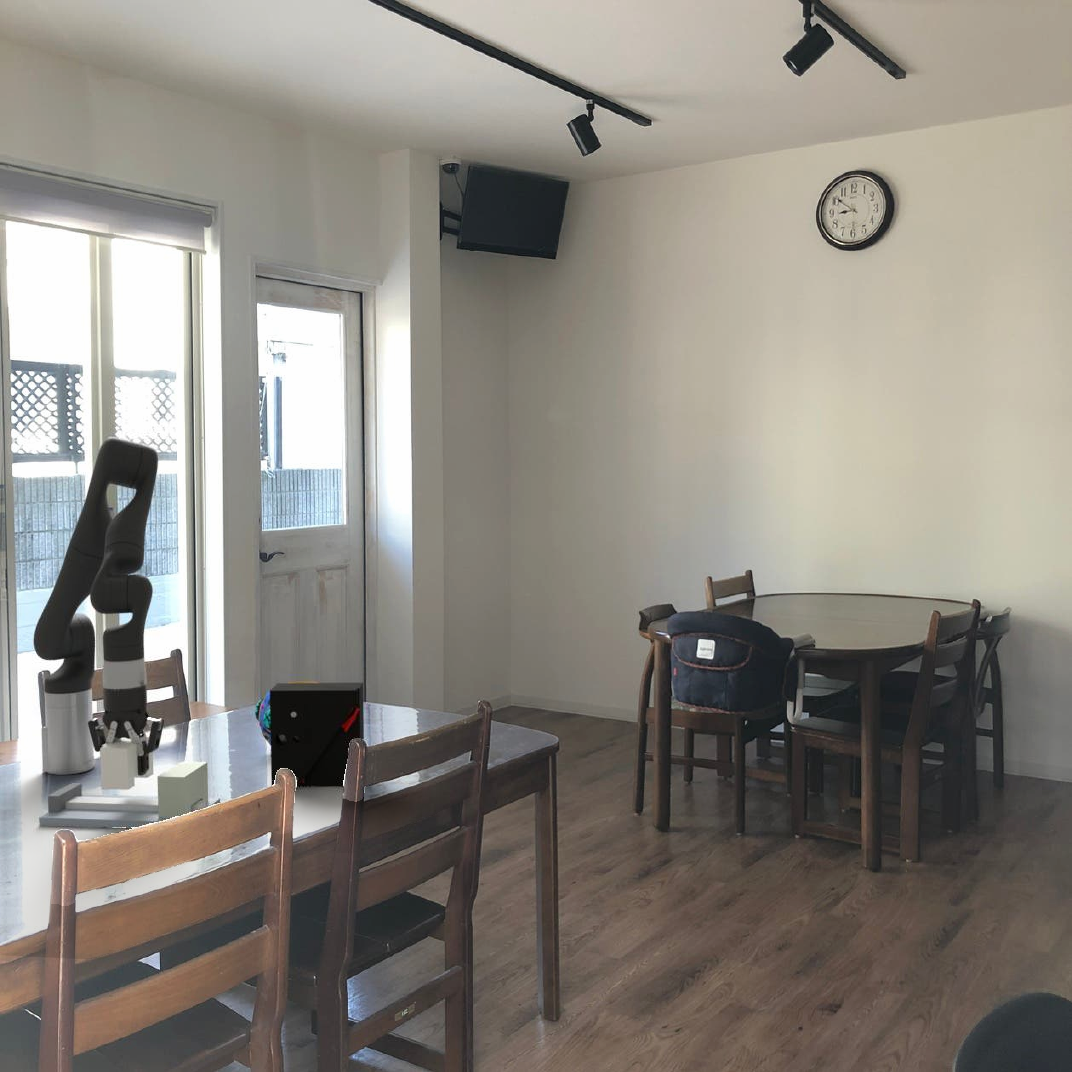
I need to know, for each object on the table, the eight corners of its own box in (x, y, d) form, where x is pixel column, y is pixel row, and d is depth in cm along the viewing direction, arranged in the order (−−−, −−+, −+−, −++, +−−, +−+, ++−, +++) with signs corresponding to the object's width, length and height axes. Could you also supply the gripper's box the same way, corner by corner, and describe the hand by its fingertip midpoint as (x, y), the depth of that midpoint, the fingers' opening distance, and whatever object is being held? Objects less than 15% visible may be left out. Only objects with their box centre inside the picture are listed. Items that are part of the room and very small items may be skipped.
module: (101, 789, 193) (100, 748, 192) (128, 773, 203) (126, 734, 202) (128, 789, 192) (126, 748, 192) (153, 774, 202) (152, 734, 202)
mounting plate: (39, 825, 192) (37, 776, 192) (80, 801, 206) (79, 755, 206) (188, 830, 189) (187, 780, 189) (220, 806, 203) (219, 759, 203)
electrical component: (365, 774, 224) (364, 680, 223) (359, 789, 214) (358, 690, 213) (281, 775, 223) (279, 681, 222) (270, 790, 213) (269, 691, 212)
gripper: (171, 679, 199) (173, 769, 200) (98, 678, 201) (101, 768, 202) (152, 687, 192) (155, 780, 193) (76, 686, 193) (80, 779, 194)
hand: (127, 773), depth 197 cm, fingers closed on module, 5 cm apart
